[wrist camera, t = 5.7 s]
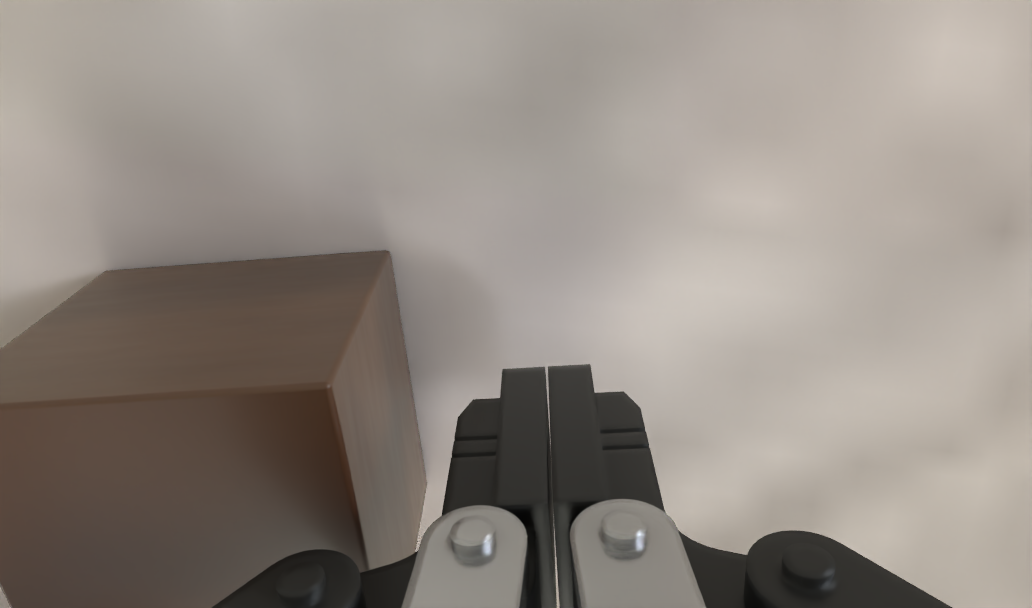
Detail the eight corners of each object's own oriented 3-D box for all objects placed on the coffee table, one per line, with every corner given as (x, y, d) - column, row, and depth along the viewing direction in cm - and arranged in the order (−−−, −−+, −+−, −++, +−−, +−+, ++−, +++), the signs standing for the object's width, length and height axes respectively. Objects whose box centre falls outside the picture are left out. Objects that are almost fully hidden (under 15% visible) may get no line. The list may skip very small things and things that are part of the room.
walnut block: (103, 269, 13) (-89, 412, 9) (390, 248, 13) (330, 384, 9) (180, 499, 15) (53, 701, 11) (427, 484, 15) (393, 684, 11)
